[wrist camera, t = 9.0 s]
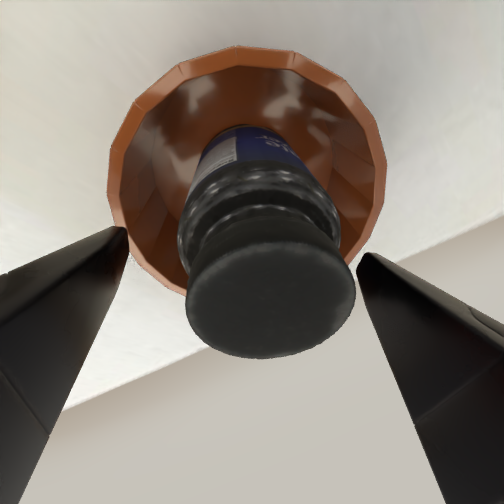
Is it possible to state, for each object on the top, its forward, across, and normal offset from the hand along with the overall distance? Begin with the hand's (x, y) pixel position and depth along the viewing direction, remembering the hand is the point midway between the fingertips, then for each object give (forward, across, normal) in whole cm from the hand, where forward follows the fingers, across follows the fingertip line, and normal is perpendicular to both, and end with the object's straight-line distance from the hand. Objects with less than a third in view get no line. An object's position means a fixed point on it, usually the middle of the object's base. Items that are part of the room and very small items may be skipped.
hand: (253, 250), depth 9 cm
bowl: (+8, 0, 0) cm, 8 cm away
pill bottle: (+8, 0, 0) cm, 8 cm away
